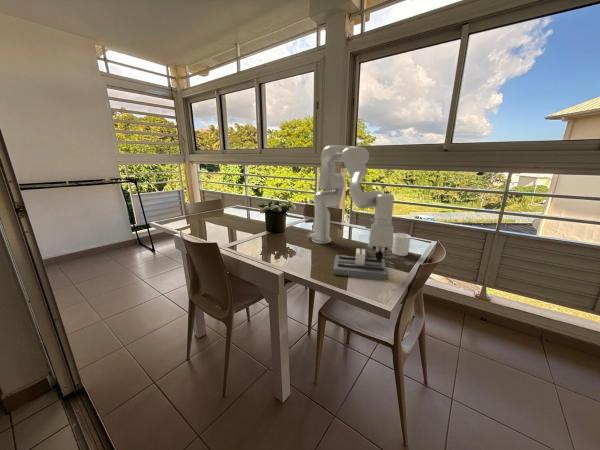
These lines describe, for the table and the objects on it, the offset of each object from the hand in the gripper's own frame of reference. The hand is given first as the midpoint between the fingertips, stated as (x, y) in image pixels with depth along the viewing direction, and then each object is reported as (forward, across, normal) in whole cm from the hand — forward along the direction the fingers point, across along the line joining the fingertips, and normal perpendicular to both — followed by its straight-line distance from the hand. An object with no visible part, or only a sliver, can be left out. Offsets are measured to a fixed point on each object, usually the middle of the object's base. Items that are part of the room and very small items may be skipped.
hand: (378, 259), depth 112 cm
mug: (+6, +12, +26) cm, 30 cm away
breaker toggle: (+3, -8, 0) cm, 9 cm away
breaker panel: (+6, -8, 0) cm, 10 cm away
